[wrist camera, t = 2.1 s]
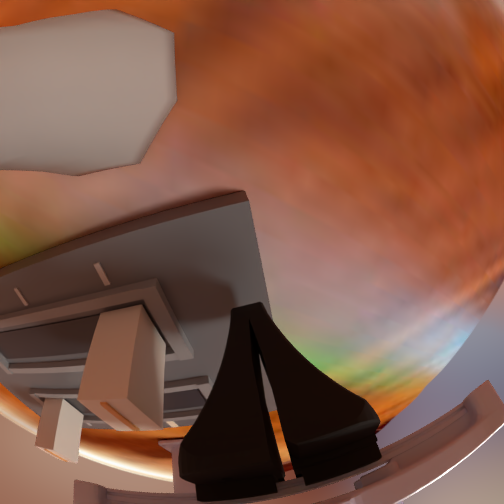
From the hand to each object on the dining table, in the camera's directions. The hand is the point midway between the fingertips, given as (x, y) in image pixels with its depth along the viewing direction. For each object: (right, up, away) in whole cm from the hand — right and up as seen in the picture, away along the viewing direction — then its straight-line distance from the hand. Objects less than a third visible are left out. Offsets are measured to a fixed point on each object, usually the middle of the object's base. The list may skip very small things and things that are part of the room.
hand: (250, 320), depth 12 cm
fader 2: (-6, -1, +1) cm, 6 cm away
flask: (-6, +9, -4) cm, 12 cm away
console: (-11, -5, +4) cm, 13 cm away
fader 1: (-16, -10, +4) cm, 20 cm away
